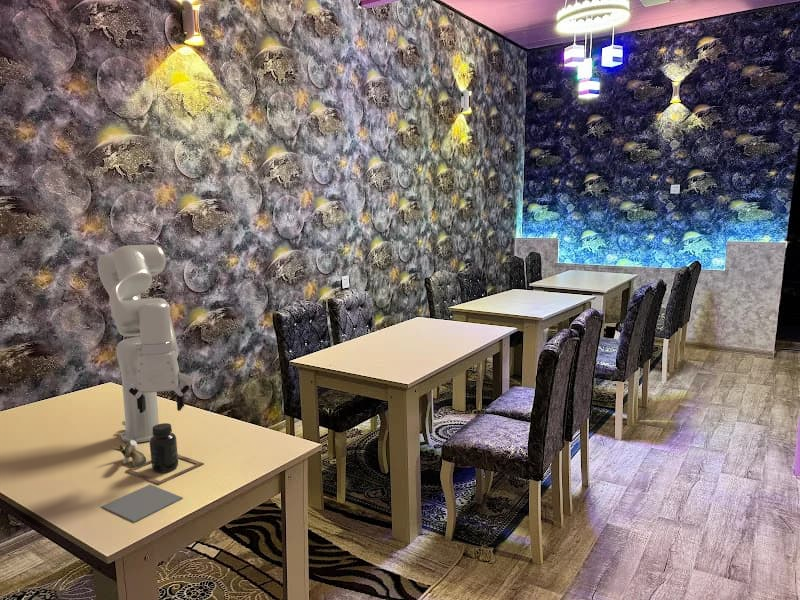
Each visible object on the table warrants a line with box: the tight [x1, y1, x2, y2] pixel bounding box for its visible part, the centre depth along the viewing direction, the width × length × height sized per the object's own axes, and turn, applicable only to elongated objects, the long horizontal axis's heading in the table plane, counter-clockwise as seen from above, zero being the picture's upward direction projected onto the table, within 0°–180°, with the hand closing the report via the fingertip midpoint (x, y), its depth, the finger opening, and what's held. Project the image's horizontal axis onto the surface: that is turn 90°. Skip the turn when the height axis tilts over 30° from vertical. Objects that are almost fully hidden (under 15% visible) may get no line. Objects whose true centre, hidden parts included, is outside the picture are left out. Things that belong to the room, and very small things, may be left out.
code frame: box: [124, 454, 205, 486], centre depth 159 cm, size 14×14×1 cm
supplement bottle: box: [149, 422, 179, 473], centre depth 158 cm, size 7×7×12 cm
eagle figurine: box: [111, 440, 147, 467], centre depth 162 cm, size 8×7×9 cm
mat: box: [101, 484, 184, 524], centre depth 141 cm, size 13×13×1 cm
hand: (161, 410), depth 156 cm, fingers open, 9 cm apart
